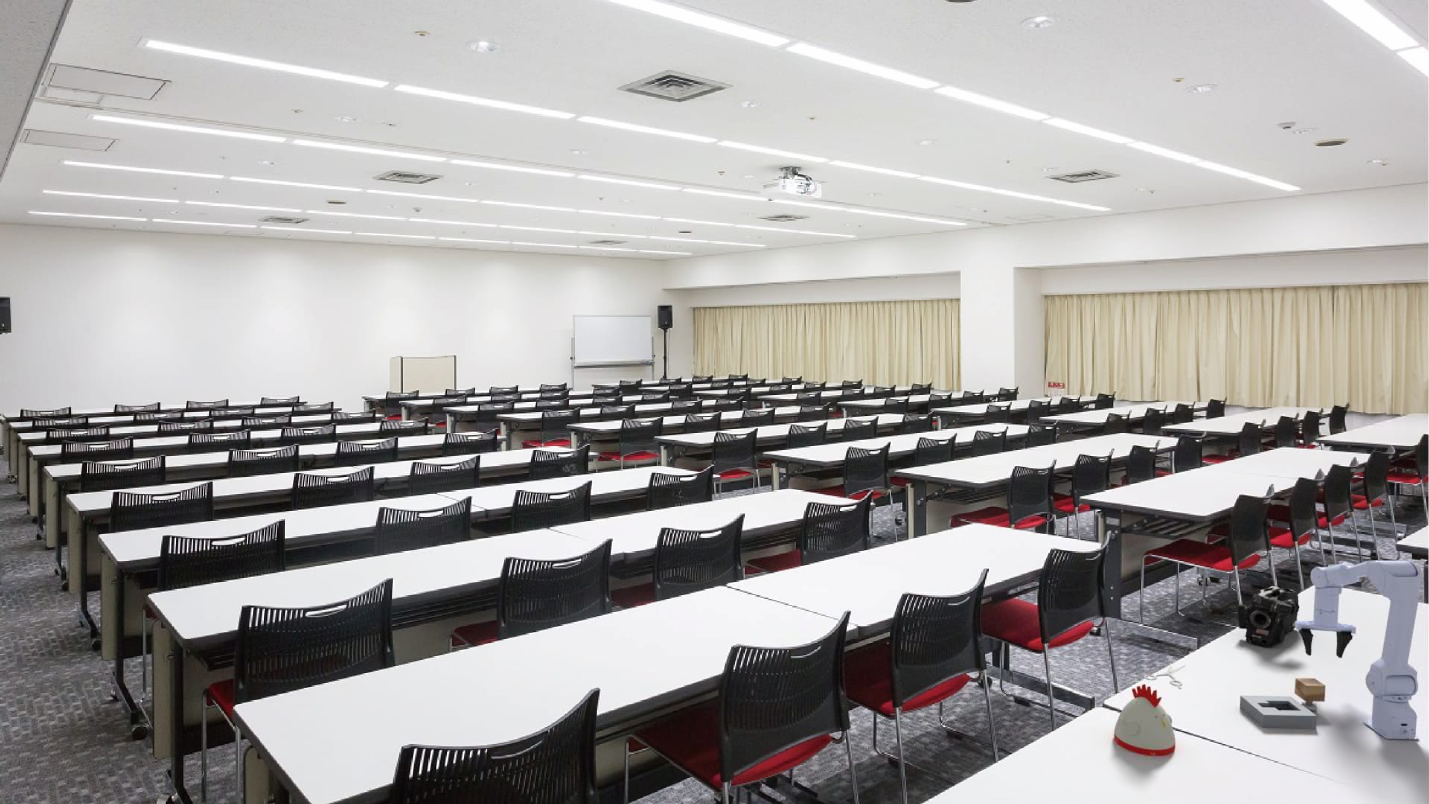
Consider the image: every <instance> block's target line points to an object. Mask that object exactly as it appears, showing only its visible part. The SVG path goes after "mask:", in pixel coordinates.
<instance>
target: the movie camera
mask: <svg viewBox="0 0 1429 804" xmlns="http://www.w3.org/2000/svg"><path fill="white" fill-rule="evenodd" d="M1298 594H1299V593H1298V592H1297V591H1295V590H1293V589H1289V588H1284V587H1283V588H1280V587H1278V586H1269V587H1268V588H1265V589H1260V590H1259V592H1258V594H1254V595H1252V600H1251V605H1250V606H1246V605H1245V604H1240V603H1239V604H1238V605H1237V616H1238V628H1239V629H1240V630H1246V632H1245V634H1244V635H1245V636H1244V637H1245V641H1246V642H1248V643H1250V644H1253V645H1256V646H1262V647H1264V648H1274V647H1275V645H1277V644H1282V643H1284V641H1285V637H1286V635H1287V634H1289V633H1290V632H1293V631H1294V630H1295V629H1296V628H1295V621H1298V616H1299V614H1298V613H1299V611H1300V605H1299V595H1298ZM1249 638H1252V639H1251V640H1250V639H1249ZM1263 641H1266V643H1264V642H1263Z"/></svg>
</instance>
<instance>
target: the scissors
mask: <svg viewBox="0 0 1429 804" xmlns="http://www.w3.org/2000/svg"><path fill="white" fill-rule="evenodd" d="M1171 665H1172V662H1170V664H1169V666H1168V668H1167V671H1165V672H1163V673H1160V674H1159V673H1157V674H1158V675H1157V674H1146V675H1144V679H1145V680H1149V681H1150V679H1152V680H1151V681H1154V680H1157V679H1158V677H1161V676H1169V677H1170V678H1172V680H1169V683H1170V684H1171V685H1172V686H1176V687H1178V689H1179V690H1182V687H1181V686H1183V683H1182V681H1180V680H1177V679H1176V677H1174V676H1173V674H1174V673H1176V672H1178V671H1179V670H1181V669H1182V668H1184V667H1185V665H1182V666H1179V667H1178V668H1175V669H1173V667H1170V666H1171ZM1170 669H1171V670H1170ZM1154 675H1156V676H1154ZM1159 675H1161V676H1159ZM1152 676H1153V678H1148V677H1152ZM1155 677H1156V679H1154V678H1155ZM1175 682H1176V683H1178V684H1176V683H1175Z"/></svg>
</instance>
